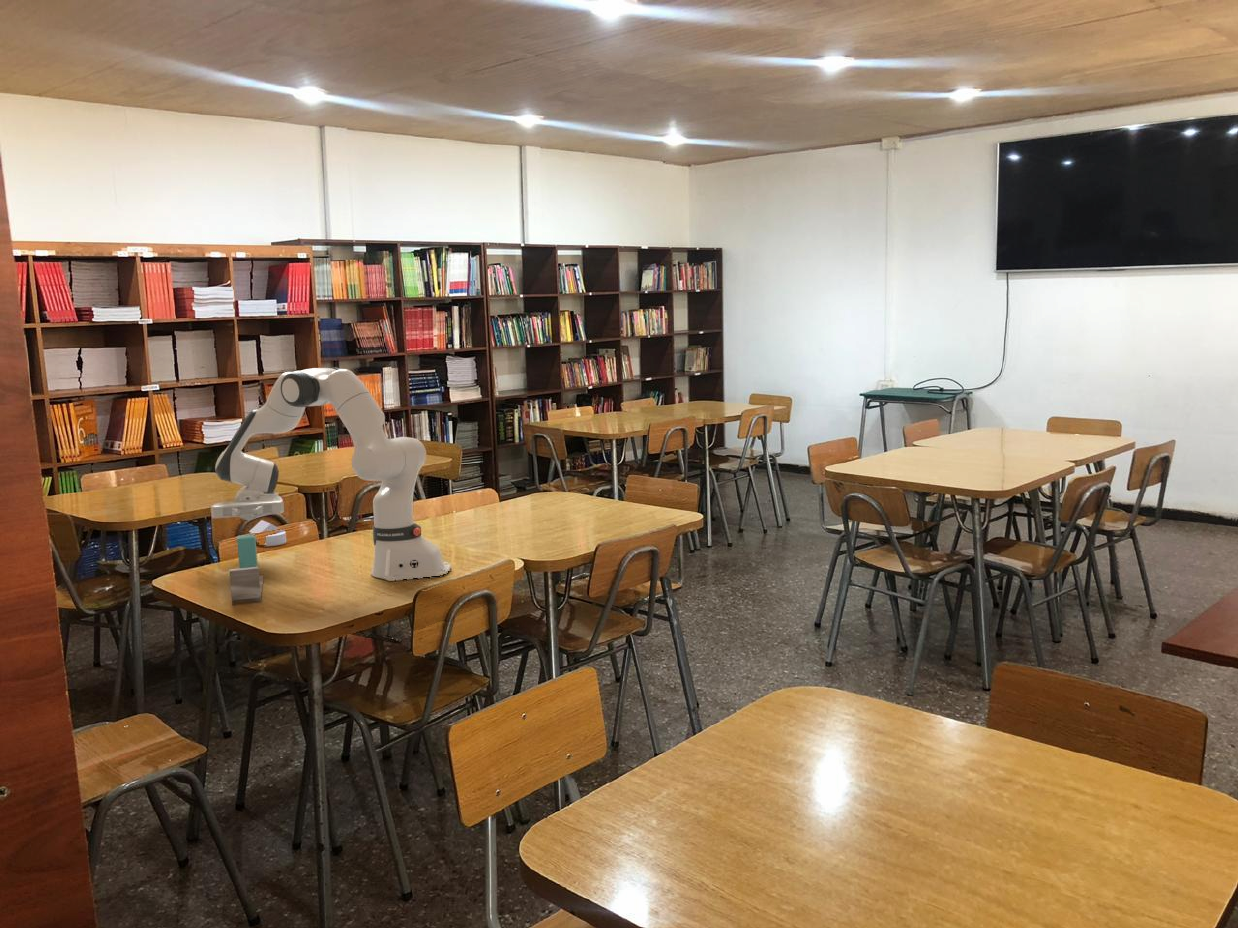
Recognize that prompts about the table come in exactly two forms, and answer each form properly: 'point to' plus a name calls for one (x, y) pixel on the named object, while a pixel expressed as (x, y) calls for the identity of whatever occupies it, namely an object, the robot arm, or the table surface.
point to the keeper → (247, 551)
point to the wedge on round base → (270, 539)
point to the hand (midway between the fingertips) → (246, 513)
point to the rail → (246, 585)
